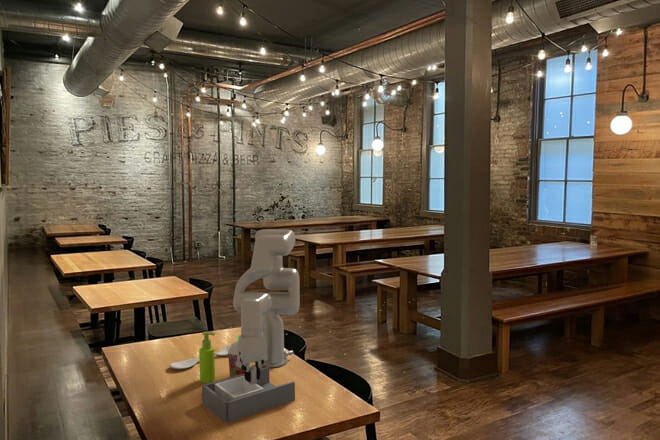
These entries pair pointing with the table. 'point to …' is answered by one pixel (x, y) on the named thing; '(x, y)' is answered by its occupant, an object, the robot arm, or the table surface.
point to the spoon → (191, 362)
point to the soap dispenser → (207, 359)
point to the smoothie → (234, 360)
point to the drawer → (238, 386)
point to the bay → (248, 398)
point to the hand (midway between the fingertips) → (252, 379)
